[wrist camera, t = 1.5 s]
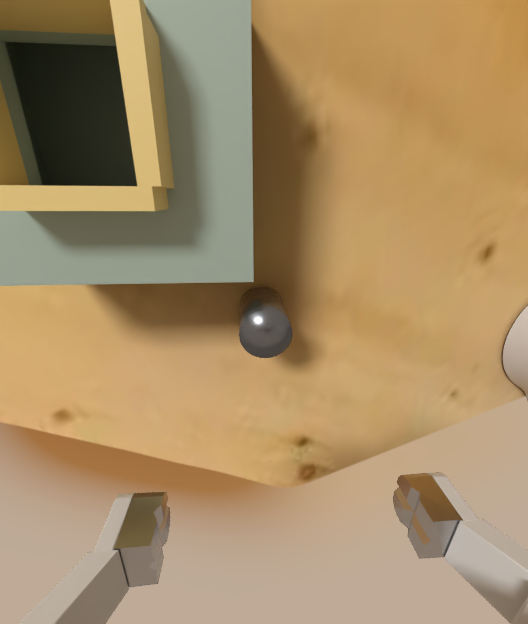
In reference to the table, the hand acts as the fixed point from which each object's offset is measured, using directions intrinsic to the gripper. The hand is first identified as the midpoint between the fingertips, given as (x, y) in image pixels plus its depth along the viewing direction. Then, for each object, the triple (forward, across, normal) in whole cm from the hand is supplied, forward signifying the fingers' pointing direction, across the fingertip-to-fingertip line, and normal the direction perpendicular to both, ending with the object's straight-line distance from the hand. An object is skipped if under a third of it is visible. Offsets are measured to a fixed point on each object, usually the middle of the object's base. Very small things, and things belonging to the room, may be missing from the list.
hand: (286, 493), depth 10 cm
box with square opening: (+18, +9, -13) cm, 24 cm away
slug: (+18, -1, 0) cm, 18 cm away
